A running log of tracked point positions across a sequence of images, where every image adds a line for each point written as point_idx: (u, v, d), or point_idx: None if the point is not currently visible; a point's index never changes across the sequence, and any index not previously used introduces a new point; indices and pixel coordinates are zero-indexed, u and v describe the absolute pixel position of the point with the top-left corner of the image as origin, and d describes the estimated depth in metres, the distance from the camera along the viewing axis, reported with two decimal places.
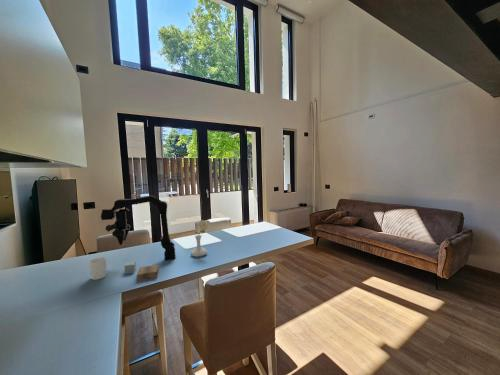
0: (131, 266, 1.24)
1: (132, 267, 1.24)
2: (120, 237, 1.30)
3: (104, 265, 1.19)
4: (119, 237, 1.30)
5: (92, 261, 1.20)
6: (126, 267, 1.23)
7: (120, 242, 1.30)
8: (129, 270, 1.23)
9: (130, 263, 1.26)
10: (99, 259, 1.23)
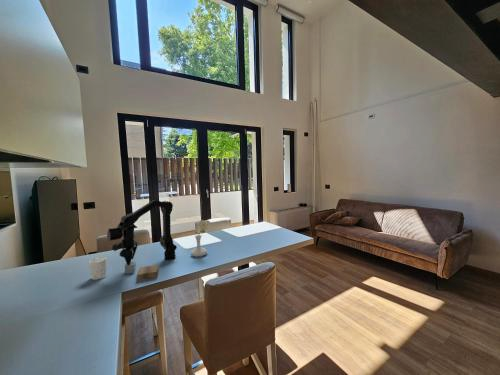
0: (131, 266, 1.24)
1: (132, 267, 1.24)
2: (128, 257, 1.20)
3: (104, 265, 1.19)
4: (127, 257, 1.20)
5: (92, 261, 1.20)
6: (126, 267, 1.23)
7: (127, 263, 1.21)
8: (129, 270, 1.23)
9: (130, 263, 1.26)
10: (99, 259, 1.23)
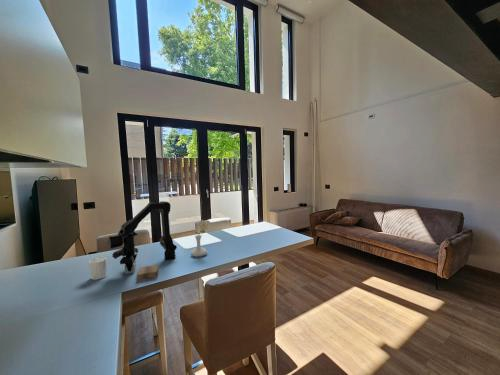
0: None
1: (132, 267, 1.24)
2: (129, 263, 1.22)
3: (104, 265, 1.19)
4: (128, 264, 1.22)
5: (92, 261, 1.20)
6: (126, 267, 1.23)
7: (128, 269, 1.23)
8: None
9: None
10: (99, 259, 1.23)
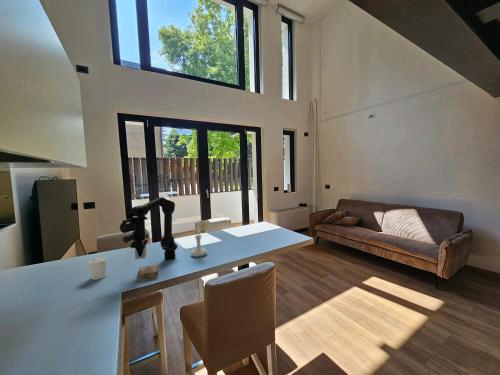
0: None
1: None
2: (139, 248, 1.17)
3: (104, 265, 1.19)
4: (139, 249, 1.17)
5: (92, 261, 1.20)
6: (136, 252, 1.18)
7: (139, 254, 1.18)
8: None
9: None
10: (99, 259, 1.23)
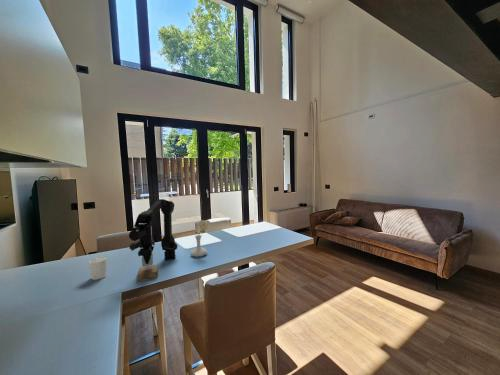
0: None
1: None
2: (147, 256, 1.16)
3: (104, 265, 1.19)
4: (146, 256, 1.16)
5: (92, 261, 1.20)
6: (143, 259, 1.17)
7: (146, 261, 1.16)
8: None
9: None
10: (99, 259, 1.23)
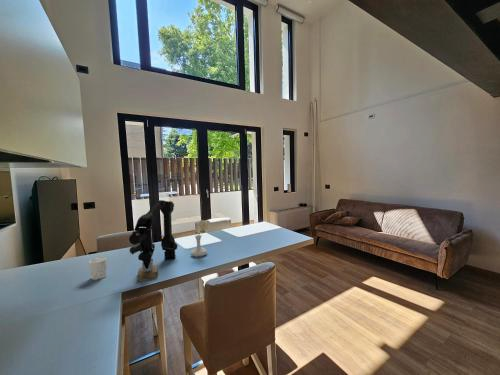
0: None
1: (150, 265, 1.18)
2: (146, 260, 1.14)
3: (104, 265, 1.19)
4: (145, 261, 1.14)
5: (92, 261, 1.20)
6: None
7: (146, 266, 1.15)
8: None
9: None
10: (99, 259, 1.23)
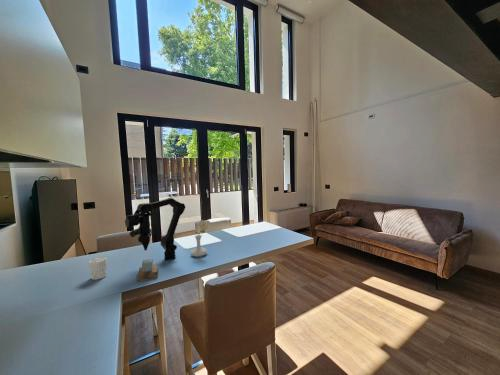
0: (148, 264, 1.17)
1: (149, 265, 1.18)
2: (145, 242, 1.27)
3: (104, 265, 1.19)
4: (144, 243, 1.26)
5: (92, 261, 1.20)
6: (143, 265, 1.17)
7: (145, 248, 1.27)
8: (146, 268, 1.17)
9: (147, 261, 1.19)
10: (99, 259, 1.23)
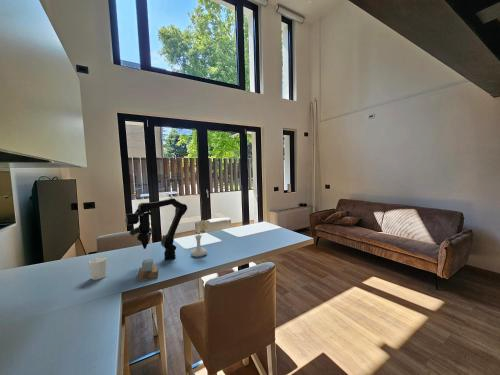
0: (148, 264, 1.18)
1: (150, 264, 1.18)
2: (144, 241, 1.29)
3: (104, 265, 1.19)
4: (143, 241, 1.29)
5: (92, 261, 1.20)
6: (143, 264, 1.17)
7: (144, 246, 1.29)
8: (146, 268, 1.17)
9: (147, 260, 1.20)
10: (99, 259, 1.23)
